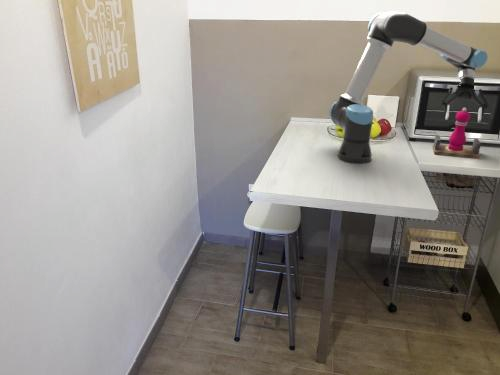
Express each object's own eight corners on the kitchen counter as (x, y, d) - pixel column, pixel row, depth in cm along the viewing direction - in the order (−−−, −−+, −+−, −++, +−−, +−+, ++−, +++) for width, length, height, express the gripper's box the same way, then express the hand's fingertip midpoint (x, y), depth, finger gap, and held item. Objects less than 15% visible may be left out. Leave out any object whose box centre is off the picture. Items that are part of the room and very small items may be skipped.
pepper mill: (465, 152, 188) (475, 109, 180) (449, 151, 190) (458, 109, 181) (461, 147, 195) (471, 106, 186) (445, 146, 196) (454, 105, 188)
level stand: (434, 154, 191) (436, 141, 188) (432, 146, 201) (434, 133, 198) (478, 158, 185) (482, 145, 182) (474, 150, 195) (477, 137, 193)
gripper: (492, 87, 192) (490, 126, 185) (436, 84, 199) (432, 121, 192) (497, 77, 185) (496, 117, 178) (439, 74, 192) (435, 113, 185)
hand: (463, 119), depth 185 cm, fingers open, 13 cm apart
